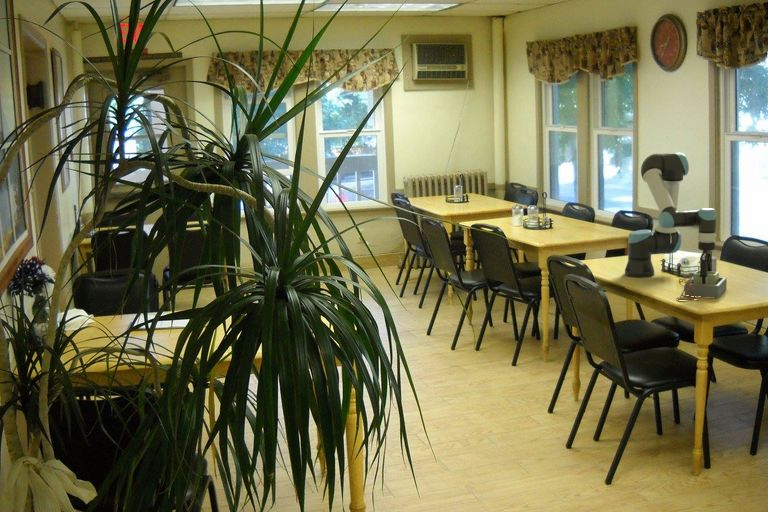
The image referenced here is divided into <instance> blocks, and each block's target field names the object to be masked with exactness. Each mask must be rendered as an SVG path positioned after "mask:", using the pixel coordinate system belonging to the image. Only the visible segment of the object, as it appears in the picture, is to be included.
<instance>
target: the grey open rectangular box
mask: <svg viewBox="0 0 768 512" xmlns="http://www.w3.org/2000/svg"><path fill="white" fill-rule="evenodd" d="M691 277H692V279H691V278H690V279H691V282H689V284H688V289H690V285H692V286H693V285H695V284H693V276H691ZM727 278H728V277H726V276H725V277H724V276H723V277H721V276H719V283H718V284H717V285H705V284H696V288H695V287H693V288H695V289H693V288H692V286H691V291H692V293H693V295H694V296H701V297H700V298H703V297H714V298H713V299H716V298H718V297H719V296H720V297H721V296H722V295H723V294H724V293H725V292H726V291H727V284H728V283H727ZM688 280H689V279H688ZM689 281H690V280H689ZM684 285H685V289H687V284H685V283H684ZM725 290H726V291H725ZM691 291H690V290H685V291H684V295H685V294H686V292H688V293H689V295H692V293H691ZM723 292H724V293H723ZM688 293H687V295H688ZM722 293H723V294H722ZM693 295H692V296H693ZM720 297H719V298H720ZM719 298H718V299H719Z"/></svg>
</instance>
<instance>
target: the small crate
mask: <svg viewBox="0 0 768 512" xmlns="http://www.w3.org/2000/svg"><path fill="white" fill-rule="evenodd" d="M692 274H693V275H692V277H693V282H694V283H695V284H701V277H699V275H700V271H699V270H696V271H694V273H692ZM719 277H720V272H719V271H716V272H713V271H707V285H717V284H718V283H719ZM694 283H693V284H694Z"/></svg>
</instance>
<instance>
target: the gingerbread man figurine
mask: <svg viewBox="0 0 768 512" xmlns="http://www.w3.org/2000/svg"><path fill="white" fill-rule="evenodd" d="M687 276H688V277H687ZM692 277H693V276H691V274H688V273H687V274H685V275H684V276H683V279H682V278H679V279H678V283H679V285H680V286H683V290H682V293H681V294H680V297H676V299H678V300H694V299H698V300H699V297H695V296H694V295H693V293H692V291H691V286H692V285H690V289H688V284H689V282H691V279H692ZM689 280H690V281H689ZM682 283H683V284H684V285H683V284H682ZM693 283H694V282H693ZM685 284H687V289H685ZM694 284H695V283H694ZM693 287H695V288H696V284H695V285H693V286H692V288H693ZM695 288H693V289H695ZM685 290H690V291H691V293H692V295H693V296H694V297H691V296H692V295H689V293H688V292H686V294H685ZM687 293H688V295H689V296H686V295H687ZM678 300H677V301H678Z"/></svg>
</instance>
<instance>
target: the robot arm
mask: <svg viewBox="0 0 768 512" xmlns="http://www.w3.org/2000/svg"><path fill="white" fill-rule="evenodd" d="M689 165H690V164H689V161H688V158H687V156H686V155H685V153H682V152H667V153H666V152H665V153H664V152H663V153H653V154H651V155H649V156H647V157H646V158H645V159H644V160H643V162H642V164H641V166H640V175H641V178H642V180H643V182H645V183H646V184H647V186H648V188H649V191H650V192H651V194H652V195H651V196H653V197H652V198H653V200H654V201H655V203H656V206H657V208H658V210H659V211H658V212H659V214H658V223H657V225H656V226H655V227H654V231H653V232H652V230H651V229H639V230H636V231H635V230H634V231H631V232H630V233H628V240H627V246H628V247H627V257H628V258H627V263H626V266H625V269H624V275H625V276H628V277H632V278H649V277H653V276H655V268H654V266H653V262H652V255H665V254H666V255H669V254H675V253H677V252H678V251H679V250H680V248H681V247H682V246H681V245H682V234H681V233H680V231H679V229H678V228H683V227H686V228H687V227H697V228H698V238H697V239H698V242H697V243H698V244H697V245H698V247H697V248H698V250H700V251H702V253H701V255H700V257H701V270H700V275H699V277H701V284H705V285H707V271H712V257H713V251H714V250H715V249H716V242H715V241H716V238H717V236H718V235H717V234H716V230H717V228H716V224H717V211H716V209H715V208H710V207H704V208H700V209H691V210H681V211H678V202H679V201H678V200H679V191H680V183H681V182H683V181H684V176H687V175H688V173H689V171H690V170H689V169H690V166H689ZM670 233H671V235H672V243H671V244H670Z"/></svg>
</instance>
